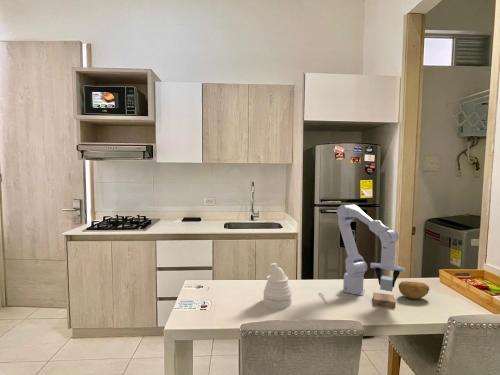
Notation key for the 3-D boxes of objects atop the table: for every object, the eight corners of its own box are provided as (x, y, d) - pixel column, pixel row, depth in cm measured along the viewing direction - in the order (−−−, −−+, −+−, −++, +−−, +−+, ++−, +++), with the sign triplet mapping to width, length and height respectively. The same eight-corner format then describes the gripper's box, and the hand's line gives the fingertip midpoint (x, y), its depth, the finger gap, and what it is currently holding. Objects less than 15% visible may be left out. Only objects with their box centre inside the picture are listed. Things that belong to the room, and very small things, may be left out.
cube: (380, 289, 149) (380, 278, 149) (381, 285, 153) (381, 275, 153) (392, 291, 147) (392, 280, 146) (392, 287, 151) (393, 277, 151)
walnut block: (373, 305, 149) (374, 299, 149) (373, 298, 158) (373, 292, 158) (395, 308, 147) (395, 302, 146) (393, 301, 155) (393, 294, 155)
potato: (433, 302, 153) (434, 286, 152) (402, 301, 154) (403, 285, 153) (423, 294, 163) (424, 278, 162) (394, 293, 163) (395, 277, 163)
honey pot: (259, 306, 147) (260, 266, 145) (268, 295, 159) (268, 259, 157) (287, 310, 142) (288, 270, 141) (294, 299, 154) (295, 262, 153)
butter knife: (323, 292, 163) (317, 291, 163) (338, 317, 136) (331, 317, 136) (323, 293, 163) (317, 293, 163) (338, 319, 136) (331, 318, 136)
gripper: (370, 255, 149) (368, 285, 150) (405, 260, 142) (403, 291, 143) (372, 252, 155) (370, 280, 156) (406, 257, 148) (404, 286, 149)
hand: (386, 285), depth 150 cm, fingers closed on cube, 5 cm apart
